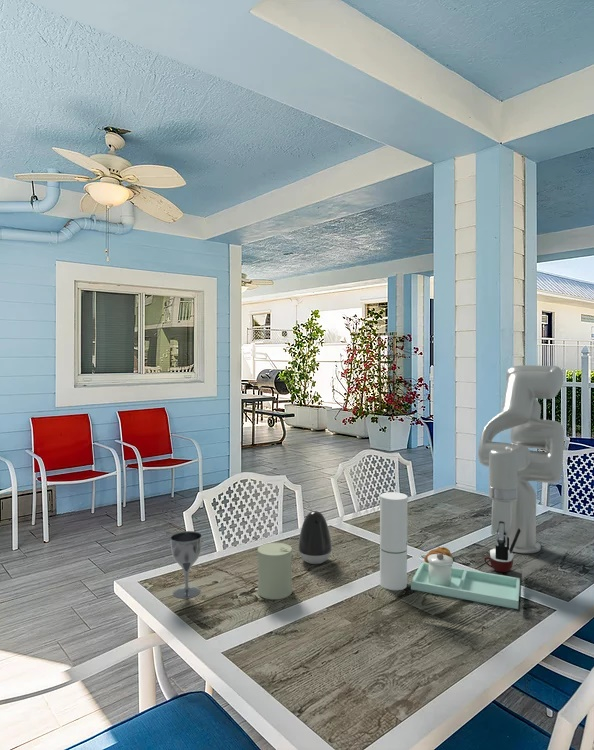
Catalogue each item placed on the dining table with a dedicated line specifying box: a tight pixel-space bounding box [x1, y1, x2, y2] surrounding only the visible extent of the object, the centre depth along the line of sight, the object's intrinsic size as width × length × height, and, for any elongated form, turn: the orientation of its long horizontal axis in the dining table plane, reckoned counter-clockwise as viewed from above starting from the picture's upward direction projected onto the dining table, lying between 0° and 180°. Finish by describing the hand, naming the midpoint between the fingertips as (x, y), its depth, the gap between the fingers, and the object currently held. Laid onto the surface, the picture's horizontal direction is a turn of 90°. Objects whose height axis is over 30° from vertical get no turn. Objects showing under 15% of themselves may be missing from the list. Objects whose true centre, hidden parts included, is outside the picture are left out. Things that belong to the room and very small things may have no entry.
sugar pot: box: [428, 553, 454, 587], centre depth 142 cm, size 7×7×8 cm
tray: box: [410, 561, 521, 610], centre depth 139 cm, size 14×26×3 cm, turn 66°
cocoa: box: [484, 529, 521, 573], centre depth 149 cm, size 10×6×12 cm, turn 56°
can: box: [256, 542, 293, 600], centre depth 139 cm, size 9×9×12 cm
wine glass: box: [170, 530, 203, 600], centre depth 138 cm, size 8×8×15 cm
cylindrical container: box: [379, 491, 408, 591], centre depth 140 cm, size 7×7×25 cm
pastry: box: [423, 546, 454, 563], centre depth 158 cm, size 9×7×4 cm
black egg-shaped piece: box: [297, 510, 333, 565], centre depth 159 cm, size 10×10×15 cm
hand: (502, 554), depth 149 cm, fingers closed on cocoa, 5 cm apart
